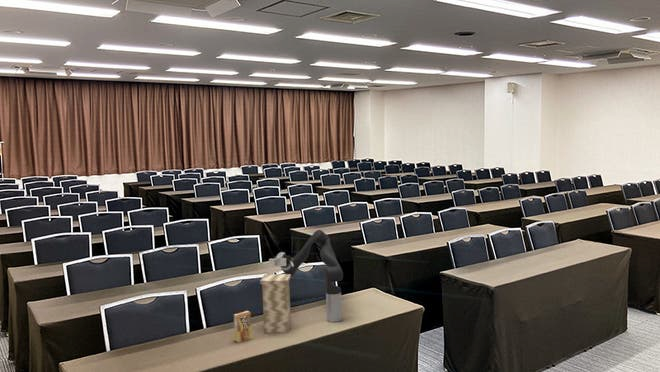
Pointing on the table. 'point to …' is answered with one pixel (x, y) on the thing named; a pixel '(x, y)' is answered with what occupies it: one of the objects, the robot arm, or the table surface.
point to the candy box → (242, 326)
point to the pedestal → (276, 303)
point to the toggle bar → (278, 260)
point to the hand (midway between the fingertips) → (280, 255)
